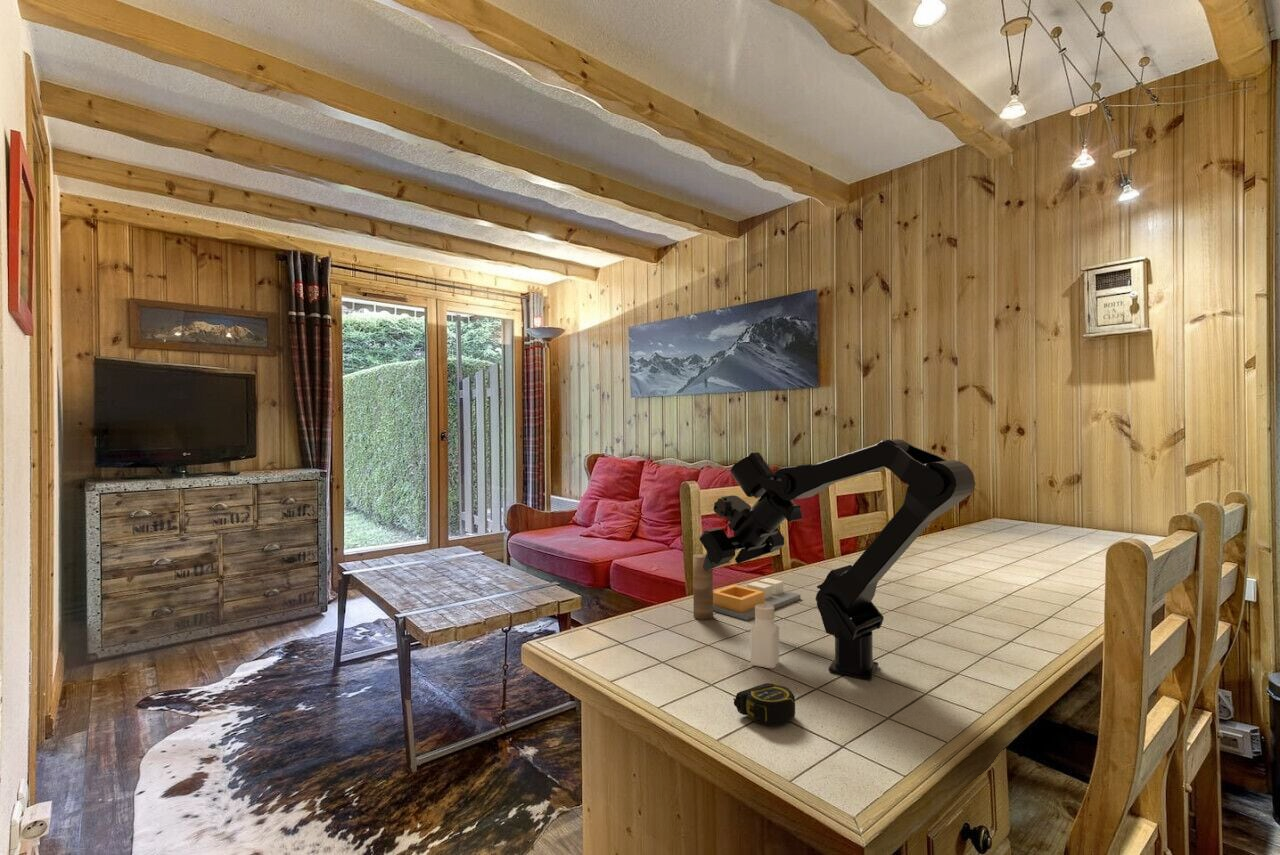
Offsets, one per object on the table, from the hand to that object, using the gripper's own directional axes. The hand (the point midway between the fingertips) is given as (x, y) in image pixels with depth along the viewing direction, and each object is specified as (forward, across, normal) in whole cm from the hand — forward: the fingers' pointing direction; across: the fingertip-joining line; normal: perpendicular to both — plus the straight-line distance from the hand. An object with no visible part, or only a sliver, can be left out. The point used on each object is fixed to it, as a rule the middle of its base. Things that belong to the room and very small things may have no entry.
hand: (720, 565), depth 117 cm
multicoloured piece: (+11, -14, +5) cm, 19 cm away
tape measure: (-12, +23, +29) cm, 39 cm away
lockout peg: (+12, 0, +5) cm, 13 cm away
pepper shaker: (-5, +9, +21) cm, 23 cm away
